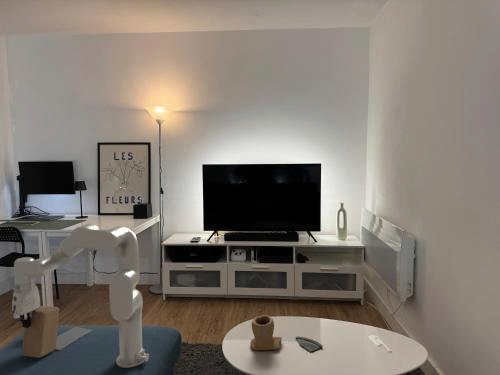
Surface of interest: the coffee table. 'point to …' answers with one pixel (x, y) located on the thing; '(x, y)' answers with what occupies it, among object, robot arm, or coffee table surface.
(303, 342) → the curved wedge
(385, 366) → the coffee table surface
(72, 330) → the rubber mat
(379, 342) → the white plastic blade
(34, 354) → the block
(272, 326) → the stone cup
